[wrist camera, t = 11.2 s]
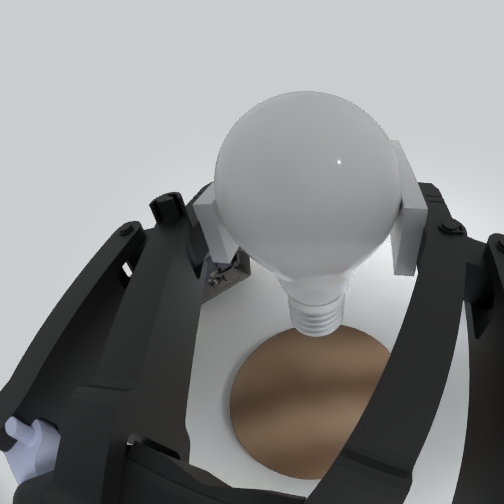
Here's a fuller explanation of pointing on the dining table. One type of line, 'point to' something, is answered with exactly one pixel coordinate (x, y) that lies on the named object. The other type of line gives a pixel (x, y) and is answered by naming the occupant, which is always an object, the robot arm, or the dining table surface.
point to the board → (304, 397)
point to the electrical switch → (225, 274)
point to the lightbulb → (309, 197)
